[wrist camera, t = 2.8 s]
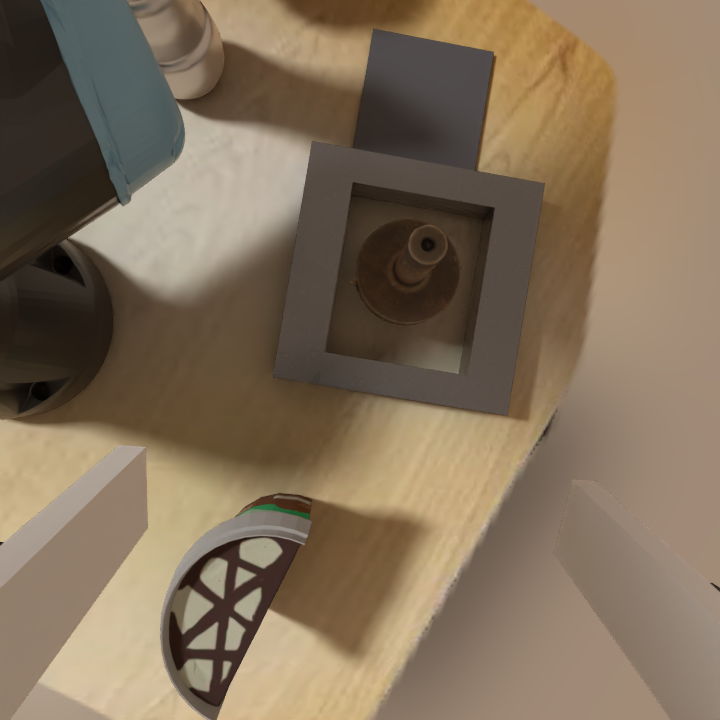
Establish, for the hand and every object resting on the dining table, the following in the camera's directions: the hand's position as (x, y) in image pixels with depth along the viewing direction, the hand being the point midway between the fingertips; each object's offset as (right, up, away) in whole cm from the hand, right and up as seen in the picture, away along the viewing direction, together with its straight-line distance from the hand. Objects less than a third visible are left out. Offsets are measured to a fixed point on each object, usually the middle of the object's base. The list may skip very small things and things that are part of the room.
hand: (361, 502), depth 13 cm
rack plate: (+4, +10, +21) cm, 24 cm away
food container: (-9, -10, +21) cm, 25 cm away
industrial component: (+4, +10, +21) cm, 24 cm away
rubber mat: (+5, +25, +21) cm, 33 cm away
